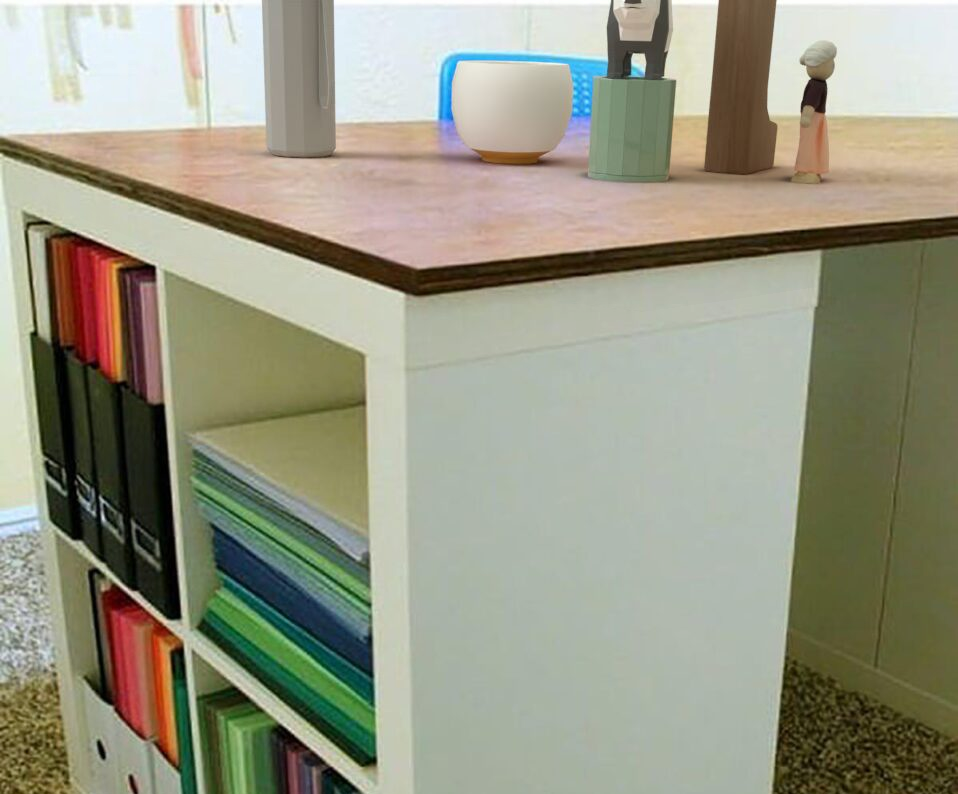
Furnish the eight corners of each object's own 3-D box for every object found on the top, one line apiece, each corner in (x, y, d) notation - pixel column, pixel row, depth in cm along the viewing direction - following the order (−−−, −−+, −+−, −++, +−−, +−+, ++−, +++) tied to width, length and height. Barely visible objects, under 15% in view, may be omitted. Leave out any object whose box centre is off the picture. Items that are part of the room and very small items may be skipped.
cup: (425, 159, 133) (426, 60, 130) (508, 153, 142) (511, 60, 138) (512, 171, 125) (516, 65, 122) (594, 163, 134) (599, 65, 130)
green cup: (678, 177, 124) (686, 78, 121) (653, 185, 118) (660, 81, 115) (604, 171, 127) (610, 75, 124) (575, 178, 121) (580, 77, 118)
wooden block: (733, 164, 136) (750, -20, 130) (774, 168, 134) (794, -19, 128) (702, 172, 129) (719, -23, 123) (745, 175, 127) (765, -23, 120)
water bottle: (249, 154, 134) (239, -113, 125) (312, 150, 139) (306, -106, 130) (300, 162, 128) (294, -118, 119) (364, 158, 133) (362, -111, 124)
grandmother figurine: (831, 186, 120) (848, 41, 116) (789, 184, 121) (804, 40, 116) (823, 177, 128) (839, 40, 123) (784, 175, 128) (798, 39, 124)
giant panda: (613, 74, 126) (619, -32, 122) (670, 76, 125) (678, -31, 121) (595, 80, 112) (602, -39, 109) (659, 82, 111) (668, -38, 108)
